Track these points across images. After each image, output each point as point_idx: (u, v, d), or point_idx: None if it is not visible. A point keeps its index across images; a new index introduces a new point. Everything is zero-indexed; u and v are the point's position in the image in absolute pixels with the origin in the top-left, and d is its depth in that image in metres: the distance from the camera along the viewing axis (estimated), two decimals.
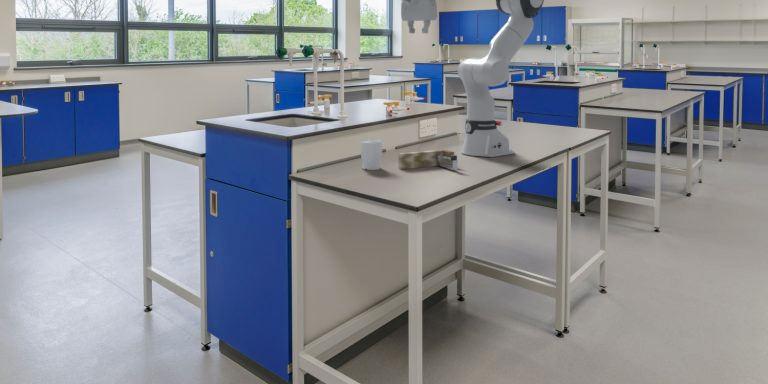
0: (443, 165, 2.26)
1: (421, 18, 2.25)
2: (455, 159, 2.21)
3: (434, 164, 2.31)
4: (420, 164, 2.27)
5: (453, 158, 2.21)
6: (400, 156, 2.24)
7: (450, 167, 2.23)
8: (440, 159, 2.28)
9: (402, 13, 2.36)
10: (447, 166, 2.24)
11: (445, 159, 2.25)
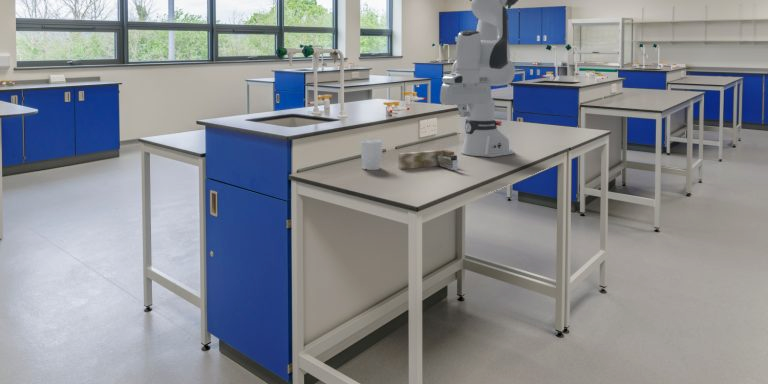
0: (443, 165, 2.26)
1: (480, 102, 2.21)
2: (455, 159, 2.21)
3: (434, 164, 2.31)
4: (420, 164, 2.27)
5: (453, 158, 2.21)
6: (400, 156, 2.24)
7: (450, 167, 2.23)
8: (440, 159, 2.28)
9: (448, 97, 2.14)
10: (447, 166, 2.24)
11: (445, 159, 2.25)
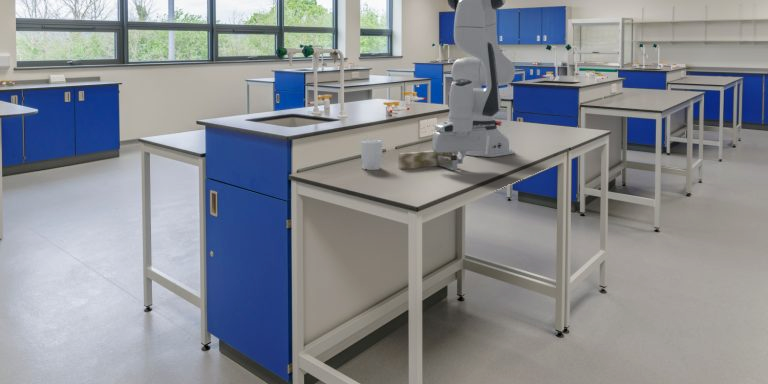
0: (443, 165, 2.26)
1: (473, 149, 2.23)
2: (455, 159, 2.21)
3: (434, 164, 2.31)
4: (420, 164, 2.27)
5: (453, 158, 2.21)
6: (400, 156, 2.24)
7: (450, 167, 2.23)
8: (440, 159, 2.28)
9: (438, 145, 2.18)
10: (447, 166, 2.24)
11: (445, 159, 2.25)
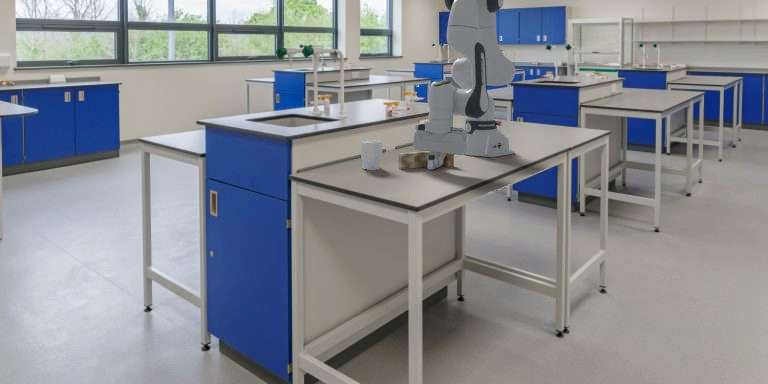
0: None
1: (449, 152, 2.17)
2: (430, 159, 2.21)
3: None
4: (420, 164, 2.27)
5: None
6: (400, 156, 2.24)
7: None
8: None
9: (415, 142, 2.24)
10: None
11: None
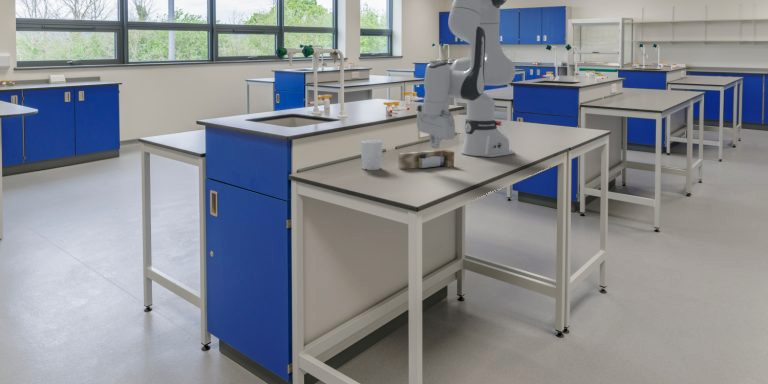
0: None
1: (438, 135, 2.13)
2: (420, 157, 2.24)
3: None
4: None
5: None
6: (400, 156, 2.24)
7: None
8: None
9: (418, 123, 2.24)
10: None
11: None
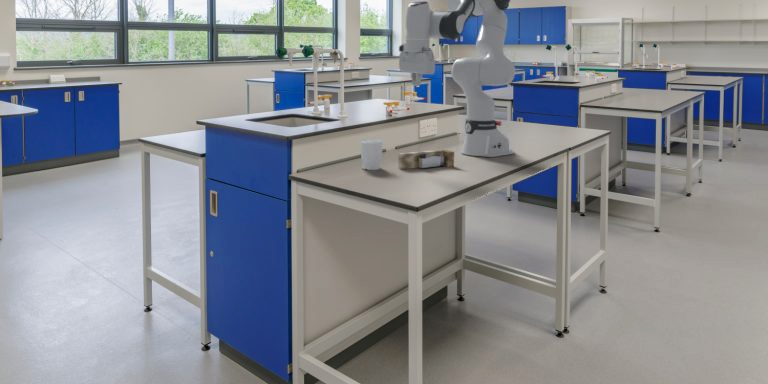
0: None
1: (419, 72, 2.24)
2: (420, 157, 2.24)
3: None
4: None
5: None
6: (400, 156, 2.24)
7: None
8: None
9: (400, 64, 2.35)
10: None
11: None
